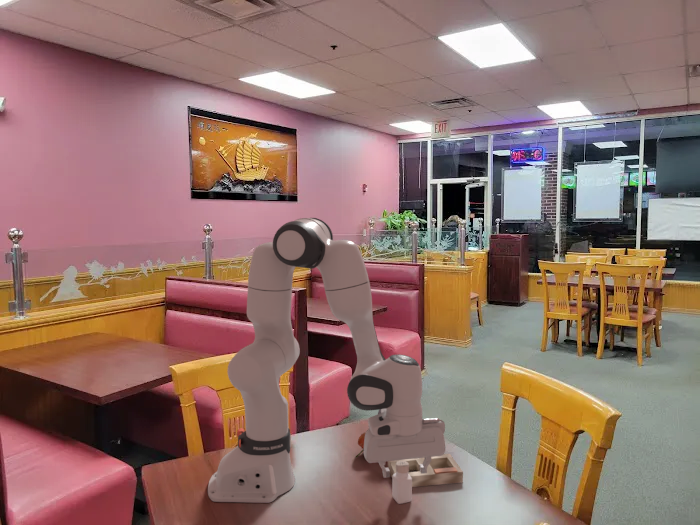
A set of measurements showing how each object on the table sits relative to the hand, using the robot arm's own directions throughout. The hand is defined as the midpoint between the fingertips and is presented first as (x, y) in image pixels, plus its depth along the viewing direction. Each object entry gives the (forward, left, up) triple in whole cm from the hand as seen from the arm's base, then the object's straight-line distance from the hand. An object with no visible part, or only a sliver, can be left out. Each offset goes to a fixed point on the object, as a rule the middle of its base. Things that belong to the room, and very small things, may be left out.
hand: (404, 474), depth 128 cm
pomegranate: (-5, +23, -7) cm, 25 cm away
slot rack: (+8, +10, -7) cm, 15 cm away
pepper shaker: (-1, 0, -7) cm, 7 cm away
